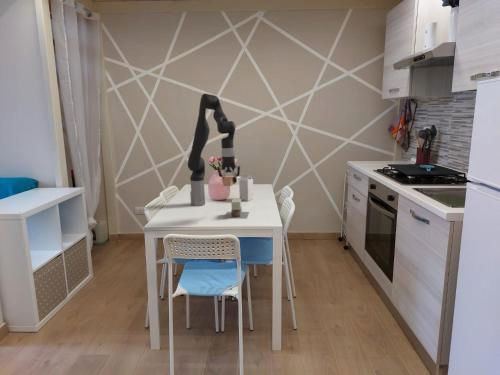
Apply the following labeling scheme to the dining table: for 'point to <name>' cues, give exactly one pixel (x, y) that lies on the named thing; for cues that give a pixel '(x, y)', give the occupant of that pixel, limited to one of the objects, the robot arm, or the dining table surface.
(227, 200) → the dining table surface
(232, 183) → the terracotta brick
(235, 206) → the sage brick
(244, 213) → the baseplate
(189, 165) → the robot arm
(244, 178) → the milk carton
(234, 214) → the walnut brick
